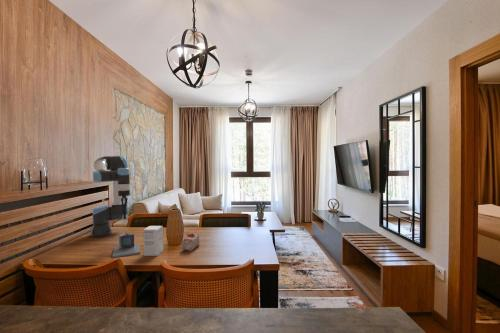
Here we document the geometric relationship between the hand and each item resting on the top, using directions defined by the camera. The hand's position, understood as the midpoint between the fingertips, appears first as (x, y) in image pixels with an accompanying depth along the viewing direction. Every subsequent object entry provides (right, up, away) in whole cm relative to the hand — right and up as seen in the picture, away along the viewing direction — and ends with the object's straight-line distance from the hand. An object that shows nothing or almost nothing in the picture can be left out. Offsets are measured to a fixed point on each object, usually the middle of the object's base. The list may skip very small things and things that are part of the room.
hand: (124, 223), depth 182 cm
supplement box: (+26, -16, -14) cm, 33 cm away
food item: (+48, -16, -5) cm, 51 cm away
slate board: (+6, -16, -10) cm, 20 cm away
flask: (+4, -15, -6) cm, 17 cm away
